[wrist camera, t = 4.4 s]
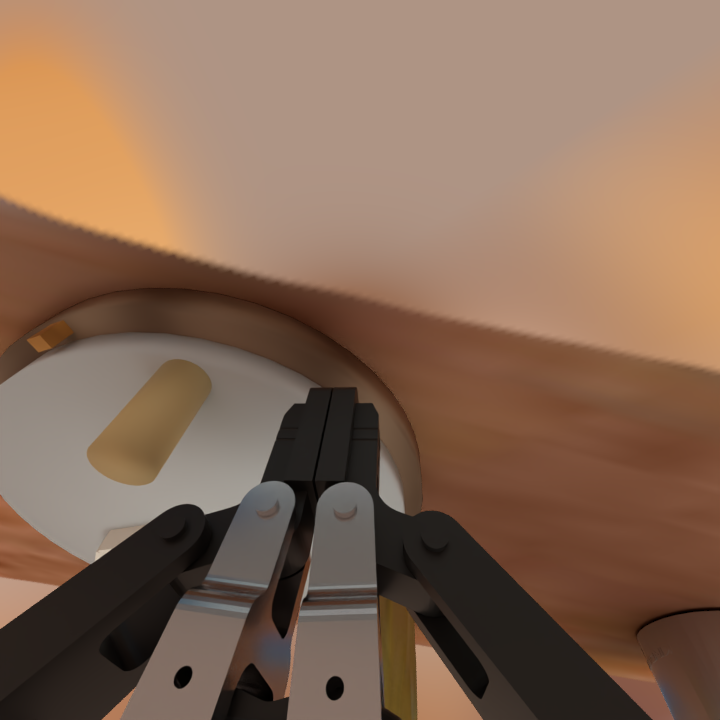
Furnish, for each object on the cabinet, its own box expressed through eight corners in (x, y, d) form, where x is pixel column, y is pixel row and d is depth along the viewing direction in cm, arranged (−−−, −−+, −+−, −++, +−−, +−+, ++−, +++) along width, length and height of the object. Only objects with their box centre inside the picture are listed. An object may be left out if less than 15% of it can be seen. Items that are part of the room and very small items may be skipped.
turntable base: (427, 277, 15) (435, 314, 12) (416, 568, 28) (418, 615, 26) (-91, 297, 17) (-179, 332, 14) (130, 557, 30) (106, 599, 28)
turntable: (489, 451, 17) (525, 574, 13) (317, 610, 29) (303, 702, 24) (-25, 236, 13) (-254, 306, 8) (20, 527, 25) (-63, 621, 20)
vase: (406, 563, 28) (418, 891, 16) (422, 598, 31) (442, 892, 19) (333, 569, 29) (294, 875, 18) (355, 602, 32) (336, 879, 21)
